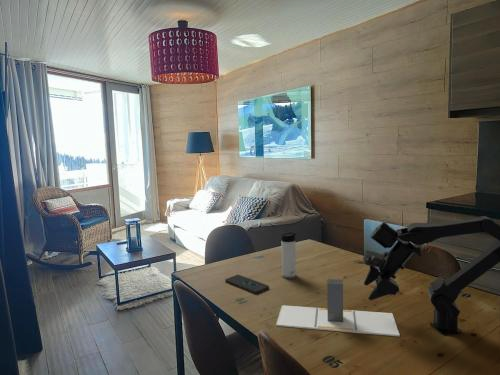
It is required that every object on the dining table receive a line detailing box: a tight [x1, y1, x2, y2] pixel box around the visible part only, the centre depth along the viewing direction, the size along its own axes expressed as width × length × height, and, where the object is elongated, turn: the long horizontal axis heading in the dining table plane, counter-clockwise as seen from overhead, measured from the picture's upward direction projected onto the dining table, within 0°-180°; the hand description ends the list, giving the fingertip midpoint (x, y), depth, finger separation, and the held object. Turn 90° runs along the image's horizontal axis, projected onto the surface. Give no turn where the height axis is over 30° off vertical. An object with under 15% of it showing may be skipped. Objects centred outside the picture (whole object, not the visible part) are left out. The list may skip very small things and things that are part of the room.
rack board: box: [275, 305, 401, 337], centre depth 117 cm, size 38×14×1 cm, turn 77°
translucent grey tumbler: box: [326, 278, 344, 322], centre depth 116 cm, size 5×4×13 cm
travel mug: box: [280, 232, 297, 279], centre depth 156 cm, size 6×7×20 cm
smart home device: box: [224, 274, 270, 295], centre depth 149 cm, size 8×2×20 cm
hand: (367, 291), depth 116 cm, fingers open, 9 cm apart
